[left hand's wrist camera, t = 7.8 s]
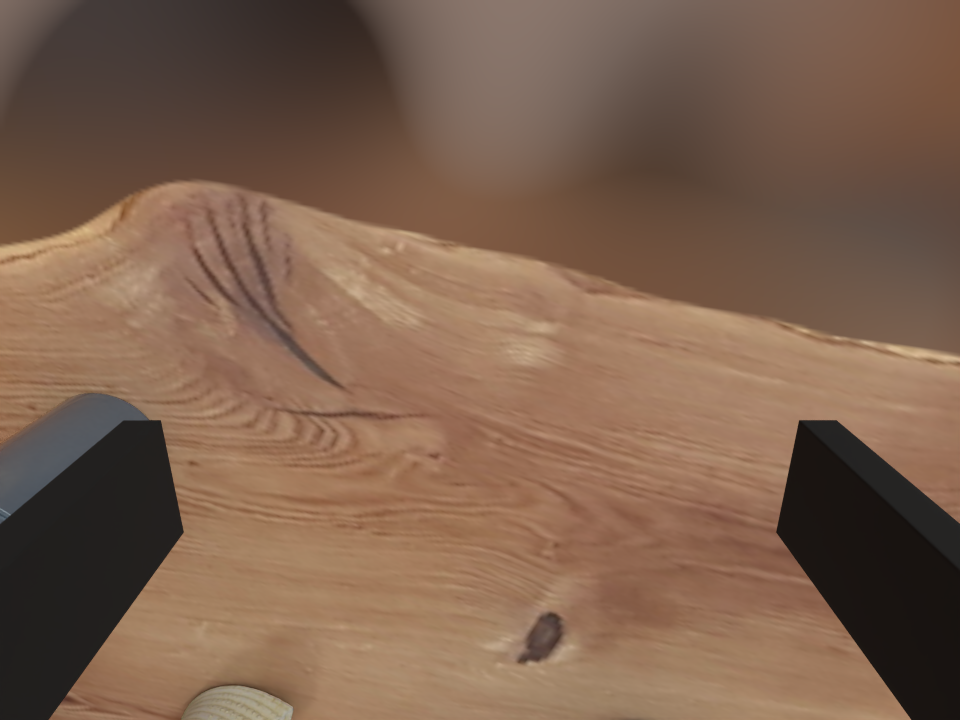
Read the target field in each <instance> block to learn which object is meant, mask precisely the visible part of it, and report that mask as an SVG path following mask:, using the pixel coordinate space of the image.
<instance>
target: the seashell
mask: <svg viewBox="0 0 960 720" xmlns="http://www.w3.org/2000/svg"><path fill="white" fill-rule="evenodd" d="M292 714H293V707H292V706H291V705H289V704H288V703H286V702H284V701H282V700H281V699H279V698H277V697H274V696H272V695H270V694H268V693H266V692H263V691H260V690H257V689H253V688H249V687H245V686H236V685H229V686H220V687H217V688H213V689H210V690H207V691H205V692H203V693H202V694H200V695H199V696H197V697H196V698H195V699H194V700H193V701H192V702H191V703H190V704H189V705H188V707H187V708H186V710H185V711H184V713H183V716H182V718H181V720H291V717H292Z"/></svg>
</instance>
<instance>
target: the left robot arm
mask: <svg viewBox="0 0 960 720" xmlns="http://www.w3.org/2000/svg"><path fill="white" fill-rule="evenodd" d="M183 533H184V531H183V526H182V522H181V517H180V512H179V507H178V502H177V497H176V492H175V487H174V483H173V478H172V473H171V468H170V463H169V458H168V453H167V448H166V444H165V439H164V434H163V429H162V424H161V420H123V421H122V422H121V423H120V424H119V425H117V426H116V427H115V428H114V429H113V430H111V431H110V432H109V433H108V434H107V435H105V436H104V437H103V438H102V439H101V440H100V441H98V442H97V443H96V444H95V445H94V446H92V447H91V448H90V449H89V450H88V451H86V452H85V453H84V454H83V455H82V456H80V457H79V458H78V459H77V460H76V461H75V462H73V463H72V464H71V465H70V466H69V467H67V468H66V469H65V470H64V471H63V472H61V473H60V474H59V475H58V476H57V477H55V478H54V479H53V480H52V481H51V482H49V483H48V484H47V485H46V486H45V487H44V488H42V489H41V490H40V491H39V492H38V493H36V494H35V495H34V496H33V497H32V498H30V499H29V500H28V501H27V502H26V503H24V504H23V505H22V506H21V507H20V508H18V509H17V510H16V511H15V512H14V513H13V514H11V515H10V516H9V517H8V518H7V519H5V520H4V521H3V522H2V523H1V524H0V720H49V718H50V717H51V716H52V714H53V713H54V711H55V710H56V709H57V707H58V706H59V705H60V703H61V702H62V700H63V699H64V698H65V696H66V695H67V693H68V692H69V691H70V689H71V688H72V686H73V685H74V684H75V682H76V681H77V680H78V678H79V677H80V675H81V674H82V673H83V671H84V670H85V668H86V667H87V666H88V664H89V663H90V662H91V660H92V659H93V657H94V656H95V655H96V653H97V652H98V650H99V649H100V648H101V646H102V645H103V643H104V642H105V641H106V639H107V638H108V637H109V635H110V634H111V632H112V631H113V630H114V628H115V627H116V625H117V624H118V623H119V621H120V620H121V619H122V617H123V616H124V614H125V613H126V612H127V610H128V609H129V607H130V606H131V605H132V603H133V602H134V600H135V599H136V598H137V596H138V595H139V594H140V592H141V591H142V589H143V588H144V587H145V585H146V584H147V582H148V581H149V580H150V578H151V577H152V576H153V574H154V573H155V571H156V570H157V569H158V567H159V566H160V564H161V563H162V562H163V560H164V559H165V557H166V556H167V555H168V553H169V552H170V551H171V549H172V548H173V546H174V545H175V544H176V542H177V541H178V539H179V538H180V537H181V535H182V534H183ZM776 533H777V534H778V535H779V537H780V538H781V539H782V541H783V542H784V544H785V545H786V546H787V548H788V549H789V551H790V552H791V553H792V555H793V556H794V558H795V559H796V560H797V562H798V563H799V564H800V566H801V567H802V569H803V570H804V571H805V573H806V574H807V576H808V577H809V578H810V580H811V581H812V582H813V584H814V585H815V587H816V588H817V589H818V591H819V592H820V594H821V595H822V596H823V598H824V599H825V600H826V602H827V603H828V605H829V606H830V607H831V609H832V610H833V612H834V613H835V614H836V616H837V617H838V619H839V620H840V621H841V623H842V624H843V625H844V627H845V628H846V630H847V631H848V632H849V634H850V635H851V637H852V638H853V639H854V641H855V642H856V643H857V645H858V646H859V648H860V649H861V650H862V652H863V653H864V655H865V656H866V657H867V659H868V660H869V662H870V663H871V664H872V666H873V667H874V668H875V670H876V671H877V673H878V674H879V675H880V677H881V678H882V680H883V681H884V682H885V684H886V685H887V686H888V688H889V689H890V691H891V692H892V693H893V695H894V696H895V698H896V699H897V700H898V702H899V703H900V705H901V706H902V707H903V709H904V710H905V711H906V713H907V714H908V716H909V717H910V718H911V720H960V524H959V523H958V522H957V521H956V520H955V519H953V518H952V517H951V516H950V515H949V514H947V513H946V512H945V511H944V510H943V509H942V508H940V507H939V506H938V505H937V504H936V503H934V502H933V501H932V500H931V499H930V498H928V497H927V496H926V495H925V494H924V493H922V492H921V491H920V490H919V489H918V488H916V487H915V486H914V485H913V484H912V483H911V482H909V481H908V480H907V479H906V478H905V477H903V476H902V475H901V474H900V473H899V472H897V471H896V470H895V469H894V468H893V467H891V466H890V465H889V464H888V463H887V462H885V461H884V460H883V459H882V458H881V457H880V456H878V455H877V454H876V453H875V452H874V451H872V450H871V449H870V448H869V447H868V446H866V445H865V444H864V443H863V442H862V441H860V440H859V439H858V438H857V437H856V436H855V435H853V434H852V433H851V432H850V431H849V430H847V429H846V428H845V427H844V426H843V425H841V424H840V423H839V422H838V421H837V420H799V424H798V429H797V434H796V439H795V444H794V448H793V453H792V458H791V463H790V468H789V473H788V478H787V483H786V487H785V492H784V497H783V502H782V507H781V512H780V517H779V522H778V526H777V531H776Z"/></svg>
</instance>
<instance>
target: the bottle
mask: <svg viewBox="0 0 960 720" xmlns="http://www.w3.org/2000/svg"><path fill="white" fill-rule="evenodd" d="M123 420H149V419H148V418H147V417H146V416H145V415H144V414H143V413H142V412H141V411H139V410H138V409H137V408H135V407H134V406H133V405H131V404H129V403H127V402H126V401H124V400H121V399H119V398H117V397H113V396H110V395H105V394H97V393H88V394H80V395H76V396H73V397H70V398H68V399H66V400H65V401H63V402H62V403H60V404H59V405H57V406H56V407H54V408H53V409H51V410H50V411H48V412H47V413H45V414H44V415H42V416H41V417H39V418H38V419H36V420H35V421H33V422H32V423H30V424H29V425H27V426H26V427H24V428H23V429H21V430H20V431H18V432H17V433H16V434H14V435H13V436H11V437H10V438H8V439H7V440H5V441H4V442H2V443H1V444H0V524H1V523H2V522H3V521H4V520H5V519H7V518H8V517H9V516H10V515H11V514H13V513H14V512H15V511H16V510H17V509H18V508H20V507H21V506H22V505H23V504H24V503H26V502H27V501H28V500H29V499H30V498H32V497H33V496H34V495H35V494H36V493H38V492H39V491H40V490H41V489H42V488H44V487H45V486H46V485H47V484H48V483H49V482H51V481H52V480H53V479H54V478H55V477H57V476H58V475H59V474H60V473H61V472H63V471H64V470H65V469H66V468H67V467H69V466H70V465H71V464H72V463H73V462H75V461H76V460H77V459H78V458H79V457H80V456H82V455H83V454H84V453H85V452H86V451H88V450H89V449H90V448H91V447H92V446H94V445H95V444H96V443H97V442H98V441H100V440H101V439H102V438H103V437H104V436H105V435H107V434H108V433H109V432H110V431H111V430H113V429H114V428H115V427H116V426H117V425H119V424H120V423H121V422H122V421H123Z"/></svg>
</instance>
